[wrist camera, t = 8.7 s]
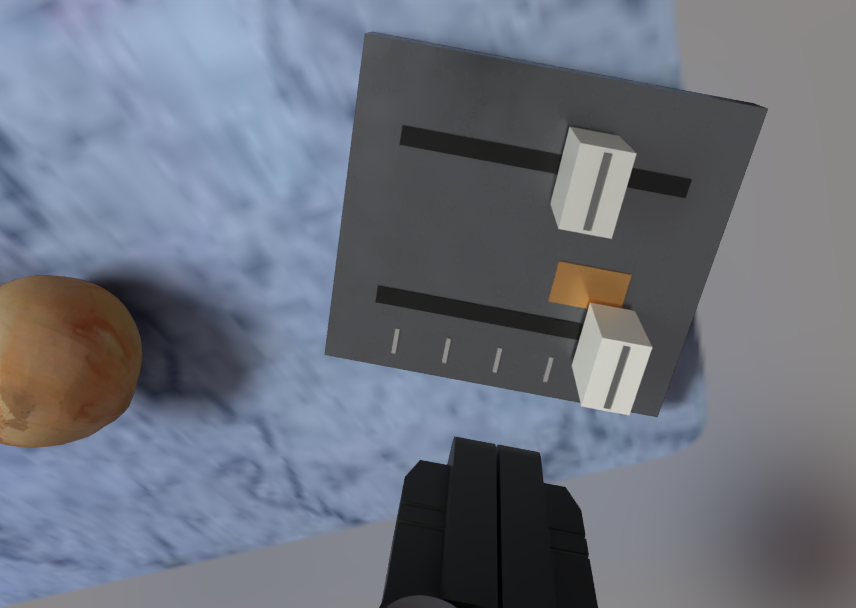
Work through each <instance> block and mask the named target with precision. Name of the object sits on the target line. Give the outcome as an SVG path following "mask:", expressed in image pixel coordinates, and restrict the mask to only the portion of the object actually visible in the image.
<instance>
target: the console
mask: <svg viewBox="0 0 856 608" xmlns="http://www.w3.org/2000/svg"><path fill="white" fill-rule="evenodd" d="M767 110H768V109H767V108H765V107H762V106H759V105H757V104H754V103H749V102H744V101H738V100H733V99H727V98H722V97H717V96H712V95H706V94H701V93H696V92H690V91H685V90H680V89H674V88H669V87H664V86H658V85H653V84H648V83H642V82H637V81H632V80H626V79H621V78H616V77H610V76H605V75H600V74H594V73H589V72H584V71H578V70H573V69H568V68H562V67H557V66H552V65H546V64H541V63H535V62H530V61H525V60H519V59H514V58H509V57H503V56H498V55H493V54H487V53H482V52H477V51H471V50H466V49H461V48H455V47H450V46H445V45H439V44H434V43H429V42H423V41H418V40H413V39H407V38H402V37H397V36H391V35H386V34H381V33H375V32H368V33H365V36H364V44H363V52H362V60H361V68H360V76H359V84H358V92H357V100H356V108H355V116H354V124H353V132H352V140H351V148H350V156H349V164H348V172H347V180H346V188H345V196H344V204H343V212H342V220H341V228H340V236H339V244H338V252H337V260H336V268H335V276H334V284H333V292H332V300H331V308H330V316H329V323H328V331H327V339H326V347H325V355H329V356H334V357H339V358H345V359H350V360H355V361H361V362H366V363H371V364H377V365H382V366H387V367H393V368H398V369H403V370H408V371H414V372H419V373H424V374H430V375H435V376H440V377H446V378H451V379H456V380H462V381H467V382H472V383H478V384H483V385H488V386H494V387H499V388H504V389H510V390H515V391H520V392H526V393H531V394H536V395H542V396H547V397H552V398H558V399H563V400H568V401H574V402H579V403H581V402H580V398H579V394H578V390H577V385H576V381H575V377H574V373H573V369H572V363H573V360H574V356H575V353H576V349H577V346H578V343H579V339H580V336H581V332H582V329H583V325H584V322H585V318H586V315H587V312H588V308H589V305H590V303H595V304H600V305H606V306H611V307H616V308H622V309H627V310H632V311H635V312H636V314H637V316H638V318H639V320H640V322H641V325H642V327H643V329H644V331H645V333H646V335H647V337H648V339H649V341H650V343H651V345H652V350H651V353H650V356H649V359H648V362H647V365H646V368H645V371H644V373H643V376H642V379H641V382H640V385H639V388H638V391H637V394H636V397H635V400H634V403H633V406H632V409H631V412H632V413H638V414H643V415H648V416H654V417H658V414H659V411H660V409H661V406H662V403H663V400H664V397H665V395H666V392H667V389H668V386H669V383H670V381H671V378H672V375H673V372H674V370H675V367H676V364H677V361H678V358H679V356H680V353H681V350H682V347H683V345H684V342H685V339H686V336H687V333H688V331H689V328H690V325H691V322H692V319H693V317H694V314H695V311H696V308H697V306H698V303H699V300H700V297H701V294H702V292H703V288H704V286H705V283H706V280H707V277H708V275H709V272H710V269H711V267H712V264H713V261H714V258H715V255H716V253H717V250H718V247H719V244H720V241H721V239H722V236H723V233H724V230H725V228H726V225H727V222H728V219H729V216H730V214H731V211H732V208H733V205H734V202H735V200H736V197H737V194H738V191H739V189H740V186H741V183H742V180H743V177H744V175H745V171H746V169H747V166H748V163H749V161H750V158H751V155H752V152H753V149H754V146H755V144H756V141H757V138H758V135H759V133H760V130H761V127H762V124H763V122H764V119H765V116H766V113H767ZM569 127H574V128H580V129H585V130H590V131H596V132H601V133H606V134H612V135H617V136H620V137H621V138H622V139H623V140H624V141H625V142H626V143H627V144H628V145H629V146H630V147H631V148H632V149H633V150H634V151H635V152H636V153H637V154H636V157H635V161H634V164H633V167H632V171H631V174H630V178H629V181H628V185H627V188H626V191H625V195H624V198H623V202H622V205H621V209H620V212H619V215H618V219H617V222H616V226H615V229H614V232H613V236H612V239H610V238H604V237H599V236H594V235H588V234H583V233H578V232H572V231H567V230H562V229H558V226H557V223H556V220H555V216H554V213H553V210H552V207H551V204H550V203H551V199H552V195H553V191H554V187H555V183H556V179H557V175H558V171H559V167H560V163H561V159H562V155H563V151H564V147H565V143H566V139H567V135H568V131H569Z"/></svg>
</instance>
